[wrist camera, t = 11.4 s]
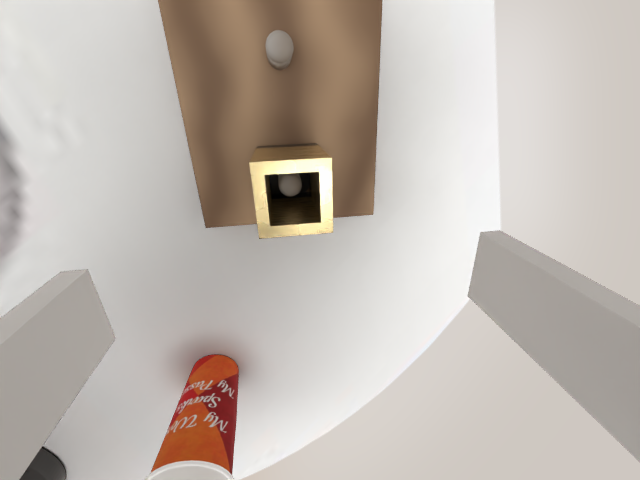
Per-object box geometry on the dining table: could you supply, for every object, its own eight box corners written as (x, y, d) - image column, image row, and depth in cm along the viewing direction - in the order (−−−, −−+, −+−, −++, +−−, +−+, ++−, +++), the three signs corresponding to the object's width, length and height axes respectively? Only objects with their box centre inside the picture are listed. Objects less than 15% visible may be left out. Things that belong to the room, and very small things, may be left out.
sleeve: (263, 203, 27) (259, 238, 20) (257, 146, 25) (249, 162, 18) (318, 199, 28) (333, 232, 20) (316, 143, 25) (331, 157, 18)
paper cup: (240, 342, 36) (220, 470, 23) (252, 386, 39) (241, 519, 27) (174, 354, 35) (117, 491, 23) (192, 397, 39) (151, 539, 26)
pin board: (210, 220, 29) (192, 251, 23) (164, -9, 22) (119, -54, 16) (367, 208, 31) (390, 233, 25) (374, -8, 24) (410, -49, 17)
